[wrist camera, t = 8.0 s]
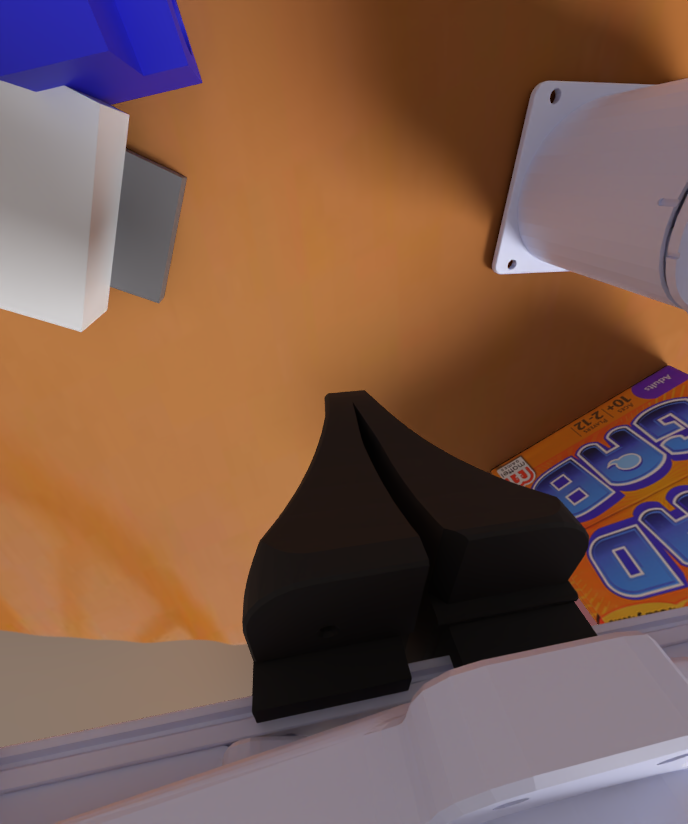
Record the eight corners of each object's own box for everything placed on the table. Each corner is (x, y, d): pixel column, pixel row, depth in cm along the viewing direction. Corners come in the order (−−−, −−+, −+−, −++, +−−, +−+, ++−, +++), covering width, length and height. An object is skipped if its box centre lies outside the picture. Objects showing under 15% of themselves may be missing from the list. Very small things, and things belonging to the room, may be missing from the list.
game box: (538, 542, 38) (668, 724, 26) (486, 469, 30) (643, 687, 17) (681, 467, 35) (913, 635, 22) (668, 360, 26) (1029, 535, 14)
